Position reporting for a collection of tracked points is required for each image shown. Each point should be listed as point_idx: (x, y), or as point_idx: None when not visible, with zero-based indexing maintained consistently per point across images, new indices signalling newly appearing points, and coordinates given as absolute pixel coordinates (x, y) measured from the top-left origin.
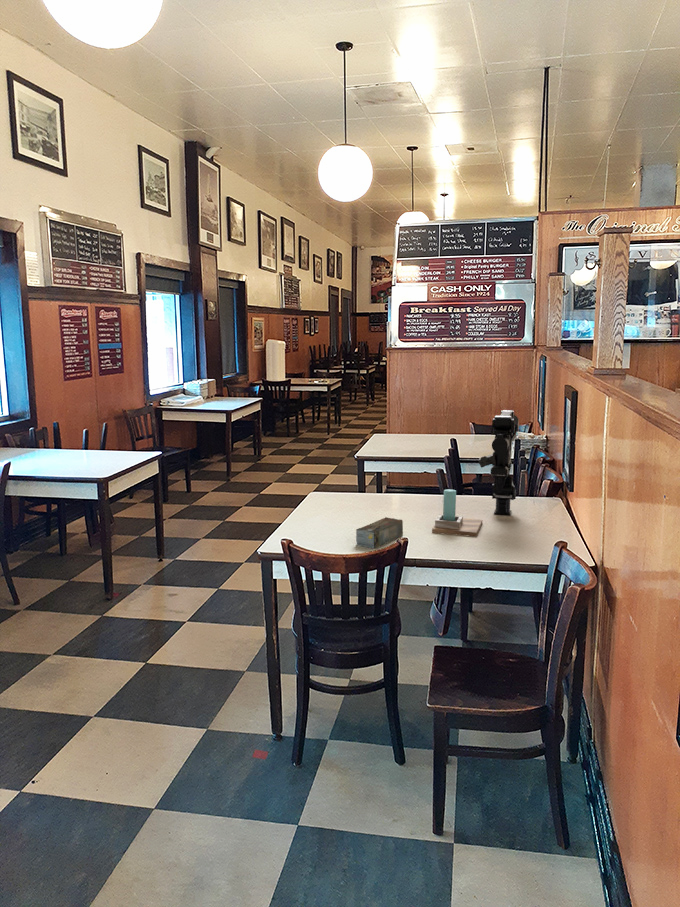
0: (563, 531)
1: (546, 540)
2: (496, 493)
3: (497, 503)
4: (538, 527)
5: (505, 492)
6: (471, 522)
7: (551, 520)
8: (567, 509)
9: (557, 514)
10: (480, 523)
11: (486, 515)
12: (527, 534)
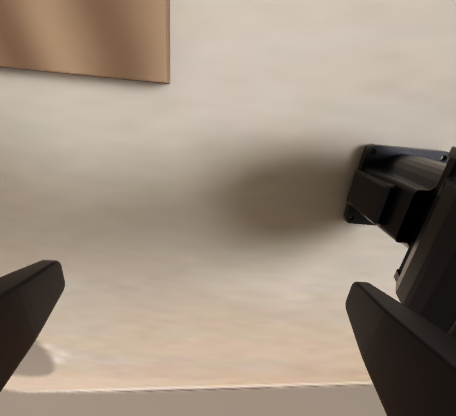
0: (155, 363)
1: None
2: (438, 193)
3: (413, 176)
4: (179, 307)
5: (412, 268)
6: (72, 5)
7: (282, 343)
8: None
9: None
10: (75, 71)
11: (345, 103)
12: (69, 273)
